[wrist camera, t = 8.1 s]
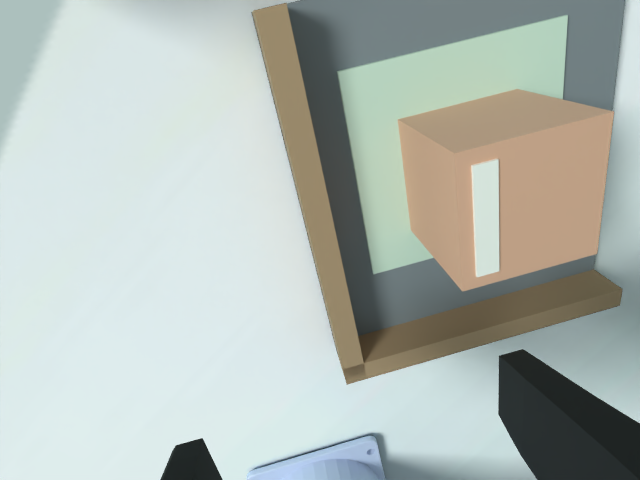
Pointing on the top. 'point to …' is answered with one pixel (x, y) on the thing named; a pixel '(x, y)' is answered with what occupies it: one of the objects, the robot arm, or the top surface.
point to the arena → (341, 187)
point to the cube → (506, 183)
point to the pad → (426, 95)
